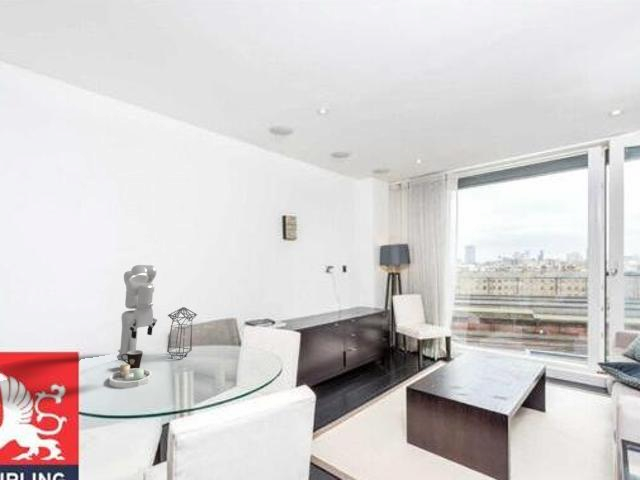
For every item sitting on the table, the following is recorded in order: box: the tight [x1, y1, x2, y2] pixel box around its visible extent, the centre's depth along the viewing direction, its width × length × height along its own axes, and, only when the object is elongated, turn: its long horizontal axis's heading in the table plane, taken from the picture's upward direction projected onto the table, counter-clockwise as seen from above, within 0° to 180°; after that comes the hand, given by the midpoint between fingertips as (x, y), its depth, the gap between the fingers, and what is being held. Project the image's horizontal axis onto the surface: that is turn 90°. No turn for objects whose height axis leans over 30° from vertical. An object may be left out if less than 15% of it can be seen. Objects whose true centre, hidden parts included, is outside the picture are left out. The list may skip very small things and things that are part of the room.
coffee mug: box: [121, 349, 144, 369], centre depth 214 cm, size 12×9×10 cm
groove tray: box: [108, 367, 153, 389], centre depth 195 cm, size 21×21×3 cm
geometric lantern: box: [166, 306, 198, 360], centre depth 240 cm, size 16×16×35 cm
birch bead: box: [119, 363, 130, 378], centre depth 198 cm, size 5×5×6 cm
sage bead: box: [133, 368, 144, 381], centre depth 193 cm, size 5×5×6 cm
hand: (141, 336), depth 193 cm, fingers open, 9 cm apart
